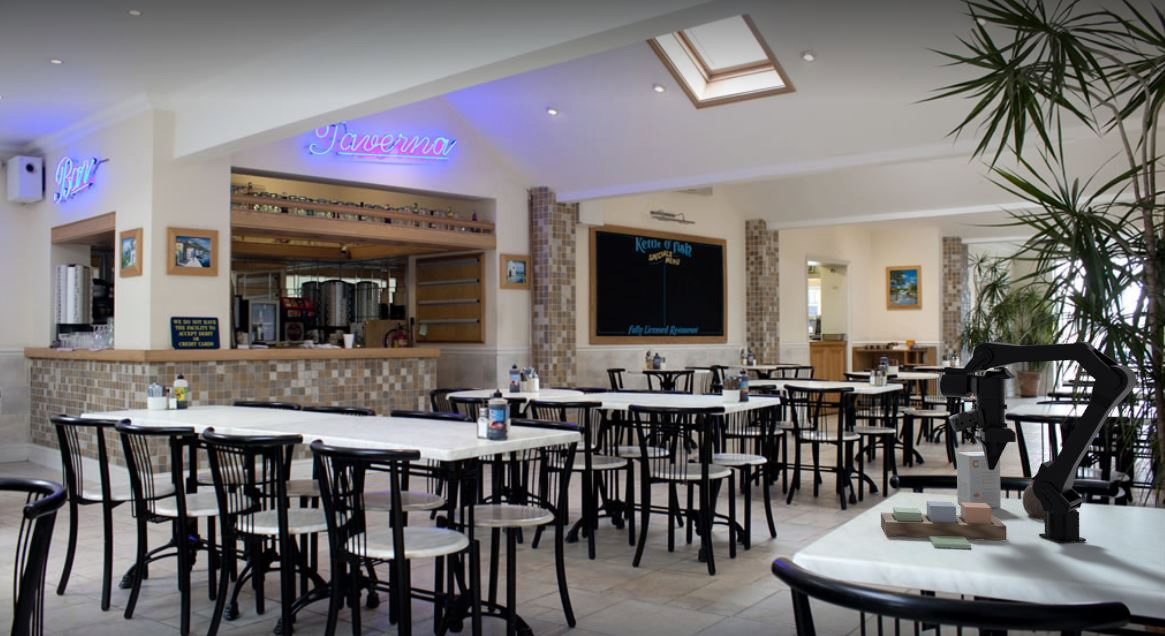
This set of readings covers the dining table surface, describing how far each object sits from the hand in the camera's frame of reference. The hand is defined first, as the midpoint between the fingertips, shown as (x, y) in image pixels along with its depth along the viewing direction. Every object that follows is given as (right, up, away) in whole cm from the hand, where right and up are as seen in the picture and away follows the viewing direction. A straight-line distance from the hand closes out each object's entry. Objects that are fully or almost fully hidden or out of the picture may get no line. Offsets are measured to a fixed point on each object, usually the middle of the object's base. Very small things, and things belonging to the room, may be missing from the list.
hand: (991, 469), depth 204 cm
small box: (+8, -13, +25) cm, 30 cm away
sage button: (-19, -12, -2) cm, 23 cm away
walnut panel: (-12, -13, -4) cm, 18 cm away
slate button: (-12, -11, -4) cm, 17 cm away
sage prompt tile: (-15, -13, -13) cm, 24 cm away
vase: (+17, -13, +13) cm, 25 cm away
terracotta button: (-6, -11, -5) cm, 13 cm away
